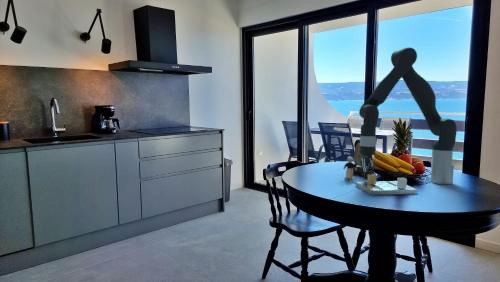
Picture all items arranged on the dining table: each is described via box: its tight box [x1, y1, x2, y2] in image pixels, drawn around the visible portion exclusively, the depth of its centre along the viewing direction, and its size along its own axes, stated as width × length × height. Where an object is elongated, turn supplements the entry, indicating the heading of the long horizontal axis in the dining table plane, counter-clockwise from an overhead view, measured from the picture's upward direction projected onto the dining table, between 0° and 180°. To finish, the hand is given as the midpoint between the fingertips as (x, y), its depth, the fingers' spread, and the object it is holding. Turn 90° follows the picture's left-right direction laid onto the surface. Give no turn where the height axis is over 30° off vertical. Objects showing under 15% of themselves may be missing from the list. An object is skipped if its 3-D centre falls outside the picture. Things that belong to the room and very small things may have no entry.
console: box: [355, 180, 418, 196], centre depth 158 cm, size 22×17×2 cm
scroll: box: [353, 139, 375, 177], centre depth 194 cm, size 15×15×20 cm
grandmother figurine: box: [343, 156, 358, 181], centre depth 181 cm, size 8×4×13 cm, turn 62°
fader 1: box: [366, 173, 377, 184], centre depth 161 cm, size 3×3×5 cm
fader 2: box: [396, 177, 408, 189], centre depth 152 cm, size 3×3×5 cm
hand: (366, 179), depth 167 cm, fingers closed
